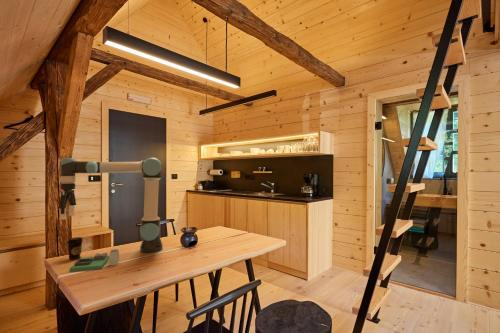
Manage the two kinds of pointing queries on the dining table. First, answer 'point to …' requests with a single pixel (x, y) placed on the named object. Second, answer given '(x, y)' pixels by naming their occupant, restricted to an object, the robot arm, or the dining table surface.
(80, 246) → the coffee cup
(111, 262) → the plug
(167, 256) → the dining table surface
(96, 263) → the board
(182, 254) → the dining table surface
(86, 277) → the dining table surface
